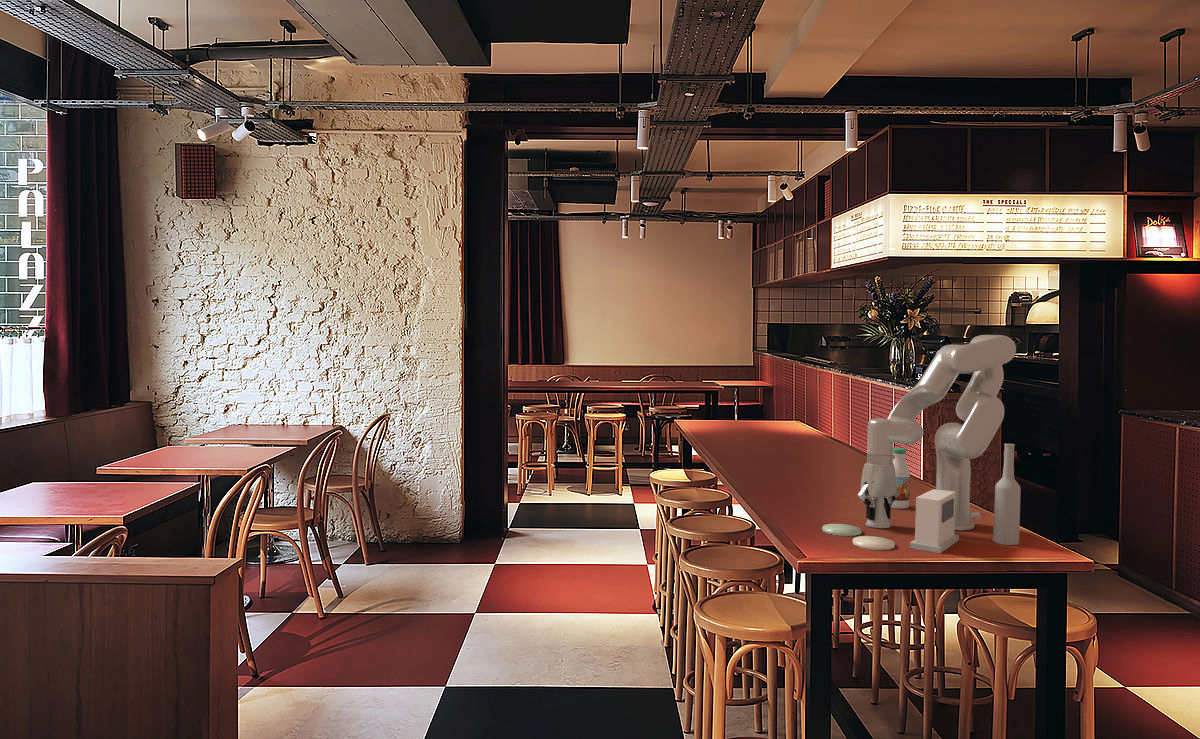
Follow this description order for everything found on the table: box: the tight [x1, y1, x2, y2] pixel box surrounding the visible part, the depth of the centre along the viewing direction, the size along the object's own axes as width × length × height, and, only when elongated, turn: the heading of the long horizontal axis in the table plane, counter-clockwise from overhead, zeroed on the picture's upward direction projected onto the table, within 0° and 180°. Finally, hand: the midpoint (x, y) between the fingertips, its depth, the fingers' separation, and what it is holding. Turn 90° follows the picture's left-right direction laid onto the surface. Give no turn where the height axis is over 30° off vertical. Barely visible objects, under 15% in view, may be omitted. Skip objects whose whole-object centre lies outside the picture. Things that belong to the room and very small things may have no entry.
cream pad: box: [852, 535, 895, 551], centre depth 223 cm, size 11×11×1 cm
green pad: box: [821, 523, 862, 537], centre depth 237 cm, size 11×11×1 cm
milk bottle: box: [891, 447, 911, 510], centre depth 271 cm, size 8×8×20 cm
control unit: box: [909, 488, 960, 554], centre depth 224 cm, size 8×18×14 cm, turn 141°
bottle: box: [992, 443, 1022, 546], centre depth 226 cm, size 7×7×28 cm
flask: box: [865, 497, 891, 529], centre depth 244 cm, size 7×7×10 cm
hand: (878, 518), depth 244 cm, fingers closed on flask, 5 cm apart
